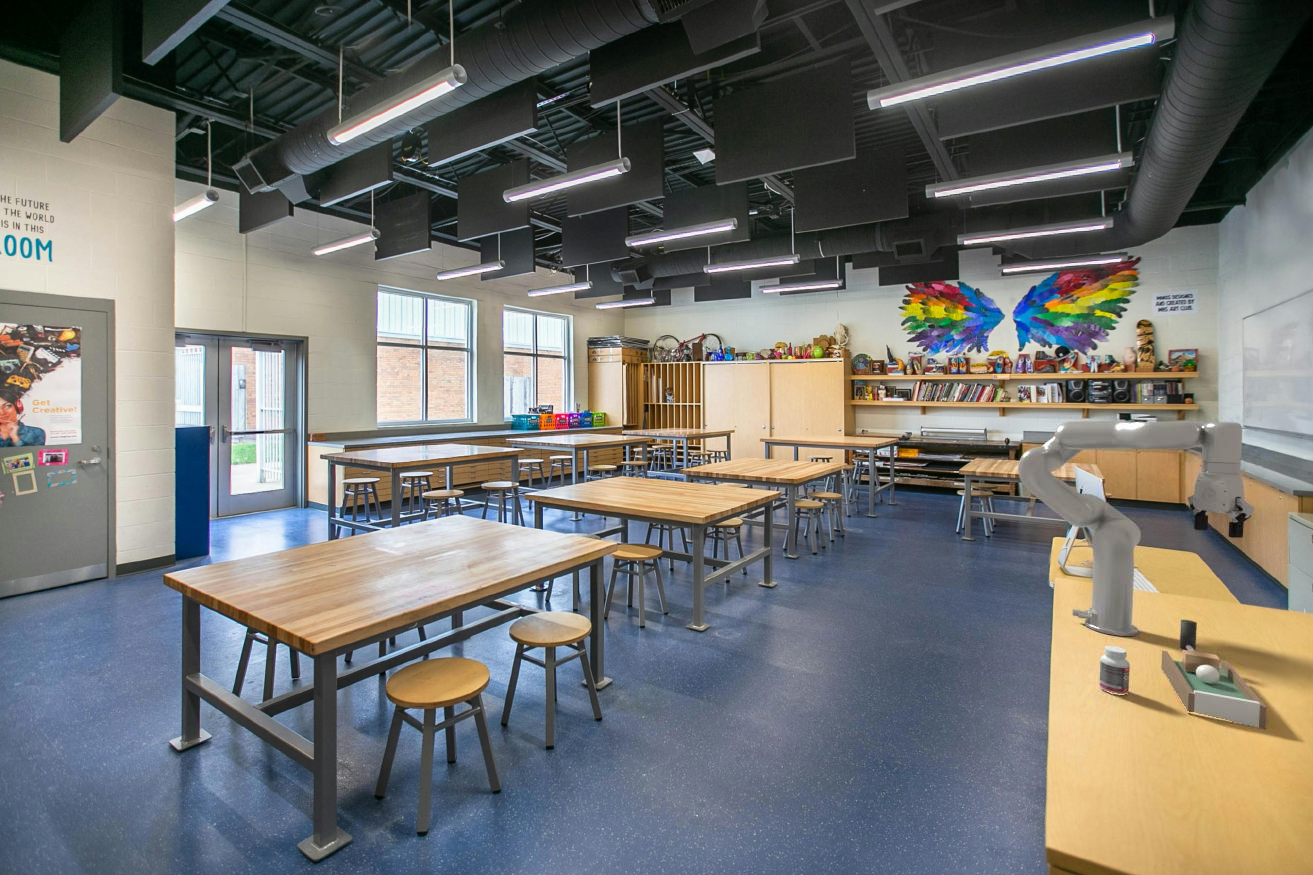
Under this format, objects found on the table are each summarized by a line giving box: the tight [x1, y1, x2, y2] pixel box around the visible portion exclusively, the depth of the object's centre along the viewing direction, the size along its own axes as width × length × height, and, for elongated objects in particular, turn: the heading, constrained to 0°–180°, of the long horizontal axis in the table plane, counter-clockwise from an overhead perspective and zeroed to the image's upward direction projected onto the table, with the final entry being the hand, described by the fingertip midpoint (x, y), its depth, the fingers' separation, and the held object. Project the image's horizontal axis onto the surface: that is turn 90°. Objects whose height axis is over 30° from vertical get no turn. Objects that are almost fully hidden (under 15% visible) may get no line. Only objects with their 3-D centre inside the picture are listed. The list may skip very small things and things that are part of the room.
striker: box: [1179, 619, 1221, 673], centre depth 147 cm, size 6×15×8 cm, turn 150°
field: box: [1160, 650, 1268, 730], centre depth 136 cm, size 12×26×5 cm, turn 150°
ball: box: [1196, 665, 1220, 684], centre depth 137 cm, size 4×4×4 cm
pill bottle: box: [1098, 645, 1131, 694], centre depth 138 cm, size 5×5×10 cm
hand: (1217, 533), depth 159 cm, fingers open, 9 cm apart
